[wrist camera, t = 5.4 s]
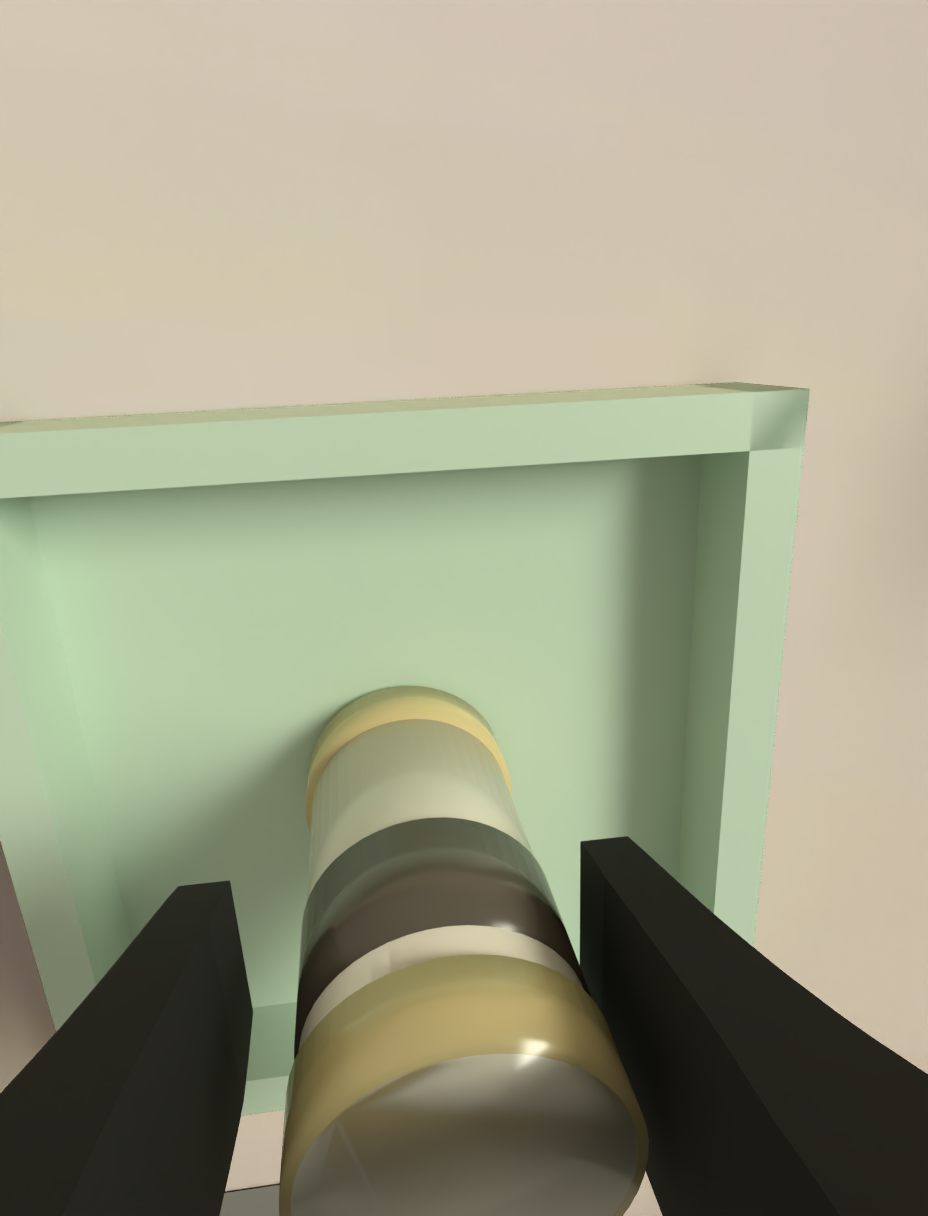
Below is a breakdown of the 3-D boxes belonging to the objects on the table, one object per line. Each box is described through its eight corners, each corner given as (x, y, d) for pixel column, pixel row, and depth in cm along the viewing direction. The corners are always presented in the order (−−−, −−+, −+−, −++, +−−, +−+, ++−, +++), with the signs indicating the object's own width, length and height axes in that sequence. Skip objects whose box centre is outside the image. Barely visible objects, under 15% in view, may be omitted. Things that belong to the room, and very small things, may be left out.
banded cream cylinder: (502, 679, 13) (665, 1022, 7) (498, 844, 14) (632, 1273, 8) (301, 692, 13) (262, 1074, 6) (314, 862, 14) (292, 1335, 7)
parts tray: (737, 382, 13) (809, 388, 10) (697, 957, 16) (743, 1045, 14) (-28, 423, 11) (-116, 439, 9) (125, 1031, 15) (87, 1138, 13)
